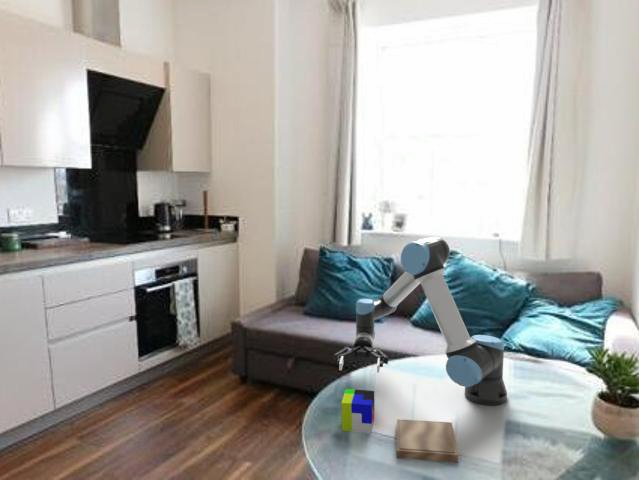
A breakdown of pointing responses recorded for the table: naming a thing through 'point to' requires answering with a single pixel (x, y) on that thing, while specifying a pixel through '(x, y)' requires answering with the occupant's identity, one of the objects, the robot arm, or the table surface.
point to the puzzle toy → (358, 410)
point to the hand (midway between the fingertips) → (359, 367)
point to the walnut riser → (426, 441)
